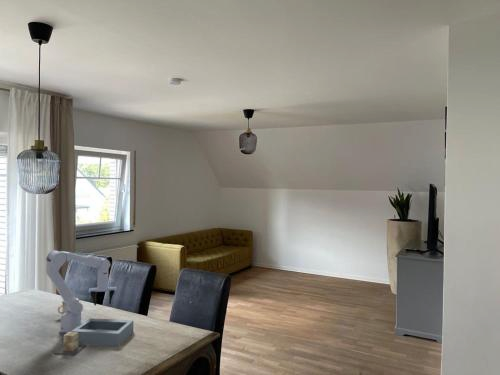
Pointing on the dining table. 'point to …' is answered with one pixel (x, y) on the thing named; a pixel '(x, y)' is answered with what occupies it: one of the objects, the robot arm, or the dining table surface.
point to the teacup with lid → (64, 308)
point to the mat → (70, 351)
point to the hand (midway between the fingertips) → (102, 304)
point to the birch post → (70, 341)
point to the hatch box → (104, 331)
